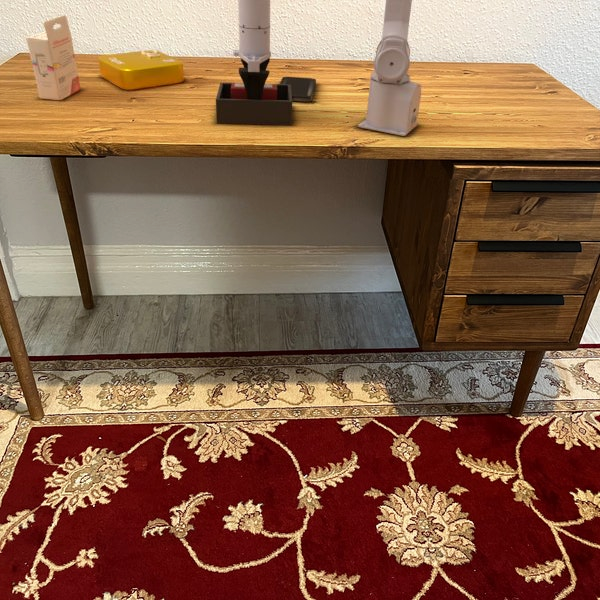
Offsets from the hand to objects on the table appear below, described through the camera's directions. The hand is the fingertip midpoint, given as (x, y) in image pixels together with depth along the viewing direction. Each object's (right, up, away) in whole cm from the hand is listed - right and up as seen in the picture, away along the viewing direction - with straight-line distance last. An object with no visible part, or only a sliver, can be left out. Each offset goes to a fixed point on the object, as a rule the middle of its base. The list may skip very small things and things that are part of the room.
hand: (255, 101), depth 116 cm
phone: (+8, +7, +16) cm, 19 cm away
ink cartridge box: (-41, +4, +8) cm, 42 cm away
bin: (0, -2, +1) cm, 3 cm away
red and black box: (0, -2, +1) cm, 2 cm away
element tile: (-27, +12, +20) cm, 36 cm away
